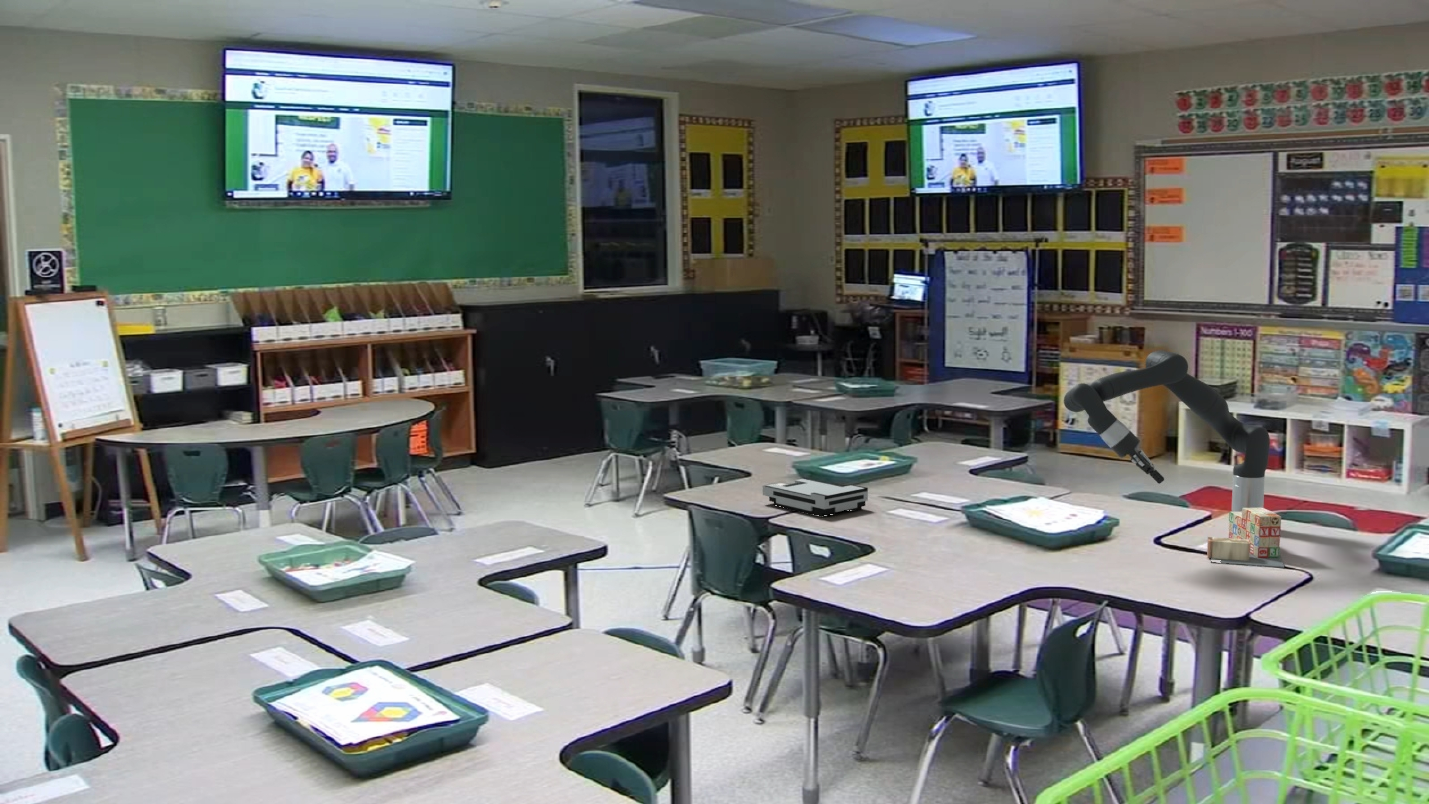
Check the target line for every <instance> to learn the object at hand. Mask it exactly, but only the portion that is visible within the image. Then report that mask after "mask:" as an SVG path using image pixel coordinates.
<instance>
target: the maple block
mask: <svg viewBox="0 0 1429 804" xmlns="http://www.w3.org/2000/svg"><path fill="white" fill-rule="evenodd" d="M1206 553H1207V554H1206V555H1207V559H1210V558H1217V559H1231V560H1246V561H1249V553H1250V542H1249V540H1247V539H1231V538H1229V537H1228V538H1227V537H1213V536H1207V550H1206Z"/></svg>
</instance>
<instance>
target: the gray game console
mask: <svg viewBox="0 0 1429 804" xmlns="http://www.w3.org/2000/svg"><path fill="white" fill-rule="evenodd" d="M868 489H869V488H868V487H867V486H861V485H855V484H851V485H846V486H844V485H841V484H840V485H839V484H835V483H829V482H825V481H820V480H815V479H810V478H806V477H803V478H799V479H794V482H793V483H788V484H783V485H780V484H775V483H772V484H767V485H763V486H762V496H765V497H768V498H769V499H768V500H769V502H771V503H773V506H774V505H777V506H781V507H784V508H788V509H791V510H790V511H792V510H795V511H794V512H797V511H800V512H799V513H801V512H804V513H803V514H805V513H808V514H807V515H809V514H814V515H819V516H824V515H830V514H834V513H838V512H842V511H844V510H849V511H850V510H855V511H860V510H862V507H866V502H867V501H869V495H868V494H869V493H868V491H869V490H868ZM784 508H783V509H784ZM788 509H787V510H788ZM859 509H860V510H859ZM844 512H845V511H844Z"/></svg>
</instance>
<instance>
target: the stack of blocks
mask: <svg viewBox="0 0 1429 804" xmlns="http://www.w3.org/2000/svg"><path fill="white" fill-rule="evenodd" d="M1228 522H1229V523H1228V524H1229V525H1228V532H1229V533H1228V538H1231V539H1247V540H1249V542H1250V552H1249V553H1251V554H1253V555H1255V556H1256V557H1279V555H1280V542H1281V541H1280V540H1281V529H1282V527H1281V525H1282V516H1281V515H1279V514H1277V513H1276V512H1275V511H1274V512H1273V511H1271V510H1269V509H1266V508H1265V507H1263V508H1242V512H1232V511H1229V514H1228Z"/></svg>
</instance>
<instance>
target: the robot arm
mask: <svg viewBox="0 0 1429 804" xmlns="http://www.w3.org/2000/svg"><path fill="white" fill-rule="evenodd" d="M1144 367H1145V368H1140V369H1133V370H1125V371H1119V372H1113V373H1111V374H1107V375H1105V376H1103V377H1100V378H1097V379H1095V380H1094V381H1092V382H1091V383H1090V384H1087V383H1085V382H1081V383H1078V384H1076V385H1074V386H1073V387H1072V388H1071V389H1070V390H1068V391H1067V392H1066V394H1065V395H1064V397H1063V404H1064V405H1063V406H1064V407H1065V408H1066V409H1067V410H1069V411H1070V412H1073V413H1081V412H1085V413H1086V414H1087V416H1088V418H1087V424H1088V425H1089V426H1090V427H1091V428H1092V429H1093V430H1094V432H1096V433H1097V434H1098V436H1100V438H1101V440H1103V442H1105V444H1106V445H1107V446H1108V447H1109V448H1110V449H1111V450H1112V451H1113V452H1114V453H1115V454H1116V455H1117V456H1118V457H1119V458H1121V459H1123V458H1124V457H1126V456H1127V455H1128V456H1129V457H1130V461H1131V462H1132V464H1134V465H1136V467H1138V468H1139V469H1140V470H1141V471H1143V472H1144V473H1145V474H1146V475H1148V476H1150V477H1151V478H1153V480H1155V482H1156V483H1157V484H1158V485H1159V484H1161V483H1163V482H1164V481H1165V477H1164V476H1163V475H1162V474H1161V472H1160V471H1158V470H1157V469H1156V466H1155V464H1153V462H1152V461H1151V460H1150V458H1149V457H1148V456H1147V455H1146V453H1145V452H1144V451H1143V449H1140V450H1139V449H1138V448H1137V447H1138V445H1139V444H1140V442H1141V441H1140V439H1139V438H1138V437H1137V436H1136V435H1135V434H1134V433H1133V432H1132V431H1131V430H1130V429H1129V428H1128V427H1127V426H1126V425H1125V424H1124V423H1123V422H1122V421H1121V420H1119V419H1118V418H1117V417H1116V416H1115V414H1113V413H1112V412H1111V411H1110V409H1108V407H1107V406H1106V404H1105V402H1106V401H1110V400H1113V399H1116V398H1118V397H1119V398H1120V397H1121V396H1124V395H1128V394H1130V393H1133V392H1136V391H1140V390H1144V389H1148V388H1152V387H1153V388H1154V387H1158V386H1164V388H1165V387H1166V388H1167V390H1169V391H1170V392H1172V393H1173V394H1174V395H1175V396H1176V397H1177V398H1178V399H1179V400H1180V401H1181V402H1182V403H1183V404H1185V406H1186V407H1188V408H1189V409H1190V410H1191V411H1192V412H1193V413H1194V414H1195V415H1196V416H1197V417H1198V418H1200V419H1201V420H1203V422H1205V423H1206V424H1207V425H1208V426H1209V427H1211V428H1212V429H1213V430H1215V431H1216V433H1218V435H1219V436H1220V437H1221V438H1222V439H1223V440H1224V441H1225V443H1226V444H1227V445H1228V446H1229V447H1230V448H1231V449H1232V450H1234V451H1235V452H1238V453H1240V454H1244V460H1243V462H1242V463H1239V464H1235V465H1234V466H1233V468H1232V490H1231V491H1232V495H1231V512H1242V508H1264V505H1265V504H1264V503H1265V502H1264V500H1265V499H1264V498H1265V497H1264V496H1265V477H1266V470H1267V468H1268V465H1269V457H1270V456H1269V455H1270V447H1271V445H1270V442H1271V438H1270V437H1271V436H1270V434H1269V431H1267V429H1266V428H1265V427H1262V426H1257V425H1253V424H1247V423H1243V422H1241V421H1239V419H1237V418H1235V417H1234V415H1232V414H1231V412H1230V409H1229V405H1228V402H1227V400H1226V399H1225V398H1224V397H1223V396H1222V394H1220V393H1219V392H1218V391H1216V390H1215V389H1214V388H1213V387H1212V386H1210V385H1209V384H1207V383H1205V382H1204V381H1202V380H1200V379H1199V378H1196V377H1194V376H1192V375H1190V374H1189V373H1188V371H1189V364H1188V361H1187V359H1186V358H1185V357H1184V356H1183V355H1180V354H1179V353H1176V352H1172V351H1168V350H1162V349H1160V350H1154V351H1152V352H1151V353H1149V354H1148V355H1147V357H1146V359H1145V364H1144Z"/></svg>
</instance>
